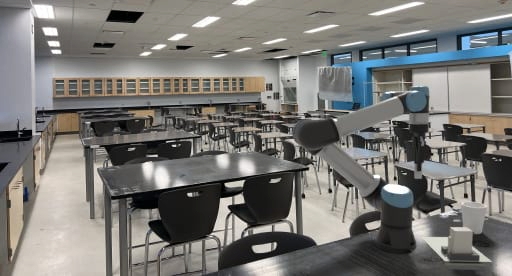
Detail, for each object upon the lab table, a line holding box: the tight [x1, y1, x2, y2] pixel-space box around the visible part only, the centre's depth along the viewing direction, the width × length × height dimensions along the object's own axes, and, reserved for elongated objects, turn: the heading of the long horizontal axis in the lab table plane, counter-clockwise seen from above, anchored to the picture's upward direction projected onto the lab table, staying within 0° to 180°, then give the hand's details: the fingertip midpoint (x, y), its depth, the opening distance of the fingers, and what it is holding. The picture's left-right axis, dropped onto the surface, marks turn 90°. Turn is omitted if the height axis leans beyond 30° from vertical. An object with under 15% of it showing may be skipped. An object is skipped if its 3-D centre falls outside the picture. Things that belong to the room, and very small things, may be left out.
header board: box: [421, 236, 493, 267], centre depth 143 cm, size 16×23×4 cm
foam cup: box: [460, 201, 488, 235], centre depth 160 cm, size 10×9×13 cm
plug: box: [447, 226, 475, 254], centre depth 135 cm, size 8×4×10 cm, turn 86°
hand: (418, 178), depth 161 cm, fingers closed
